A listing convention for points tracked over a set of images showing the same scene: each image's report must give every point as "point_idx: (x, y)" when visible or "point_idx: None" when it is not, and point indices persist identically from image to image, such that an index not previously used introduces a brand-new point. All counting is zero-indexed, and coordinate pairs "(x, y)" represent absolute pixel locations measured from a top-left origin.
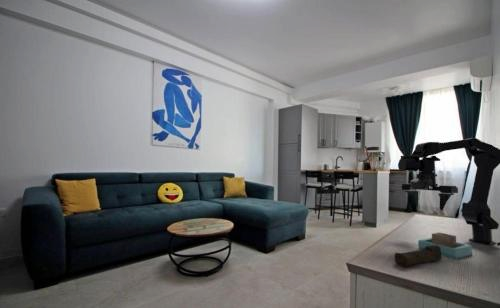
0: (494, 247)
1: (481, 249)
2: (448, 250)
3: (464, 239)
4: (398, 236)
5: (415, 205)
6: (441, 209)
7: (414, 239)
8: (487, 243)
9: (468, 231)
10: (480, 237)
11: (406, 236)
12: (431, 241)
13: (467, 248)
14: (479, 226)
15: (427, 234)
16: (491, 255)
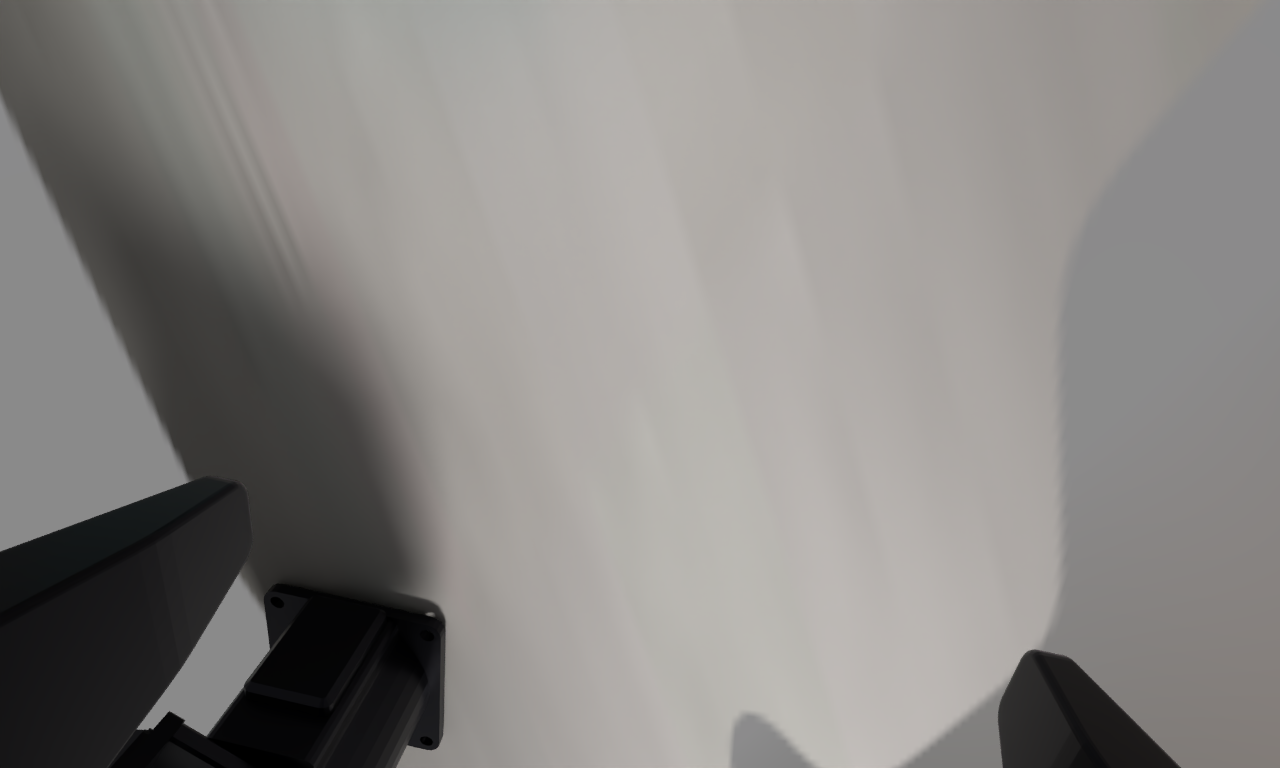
0: None
1: (212, 318)
2: None
3: (490, 641)
4: (1181, 9)
5: (1078, 686)
6: (181, 485)
7: (890, 58)
8: (281, 590)
9: None
10: (300, 631)
11: (1053, 162)
12: None
13: None
14: (239, 764)
15: (840, 572)
16: (39, 115)
